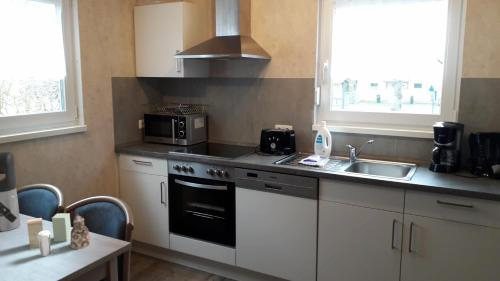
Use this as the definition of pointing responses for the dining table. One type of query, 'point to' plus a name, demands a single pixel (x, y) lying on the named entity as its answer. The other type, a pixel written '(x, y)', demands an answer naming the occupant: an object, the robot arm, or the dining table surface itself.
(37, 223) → the beech block
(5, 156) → the robot arm
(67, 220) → the sage block
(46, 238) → the milkshake
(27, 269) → the dining table surface
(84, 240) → the figurine
